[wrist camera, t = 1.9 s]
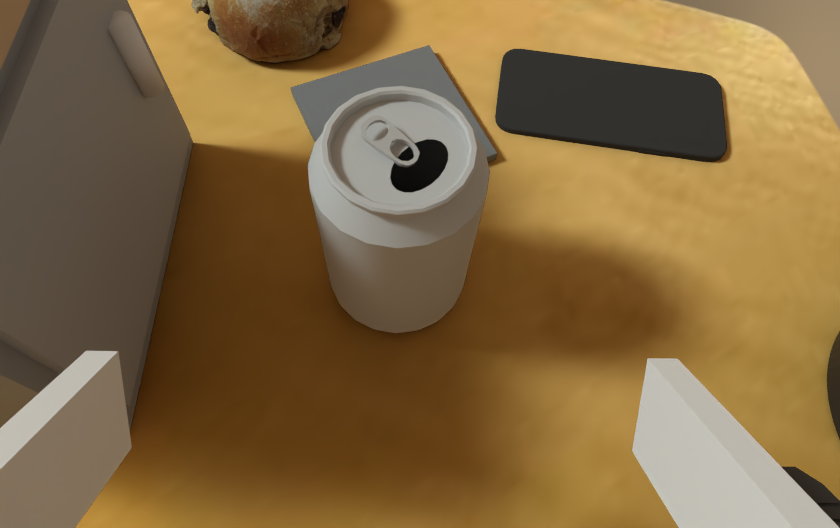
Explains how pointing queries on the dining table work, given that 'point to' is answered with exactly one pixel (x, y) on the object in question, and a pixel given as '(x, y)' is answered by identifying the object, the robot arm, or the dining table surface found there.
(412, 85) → the mat
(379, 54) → the dining table surface
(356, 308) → the can
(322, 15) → the bread roll
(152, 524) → the dining table surface
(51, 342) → the cabinet
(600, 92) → the phone
